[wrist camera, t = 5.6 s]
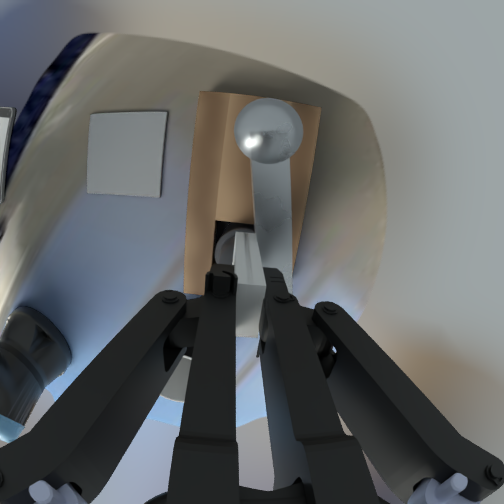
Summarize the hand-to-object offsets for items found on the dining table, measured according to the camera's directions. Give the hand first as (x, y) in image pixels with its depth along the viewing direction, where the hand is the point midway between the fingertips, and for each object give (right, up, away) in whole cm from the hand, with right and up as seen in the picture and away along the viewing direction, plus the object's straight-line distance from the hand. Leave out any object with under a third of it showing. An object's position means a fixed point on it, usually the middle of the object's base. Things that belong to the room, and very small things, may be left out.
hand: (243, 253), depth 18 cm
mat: (-15, +12, +12) cm, 22 cm away
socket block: (0, +6, +14) cm, 16 cm away
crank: (+2, +1, +1) cm, 2 cm away
